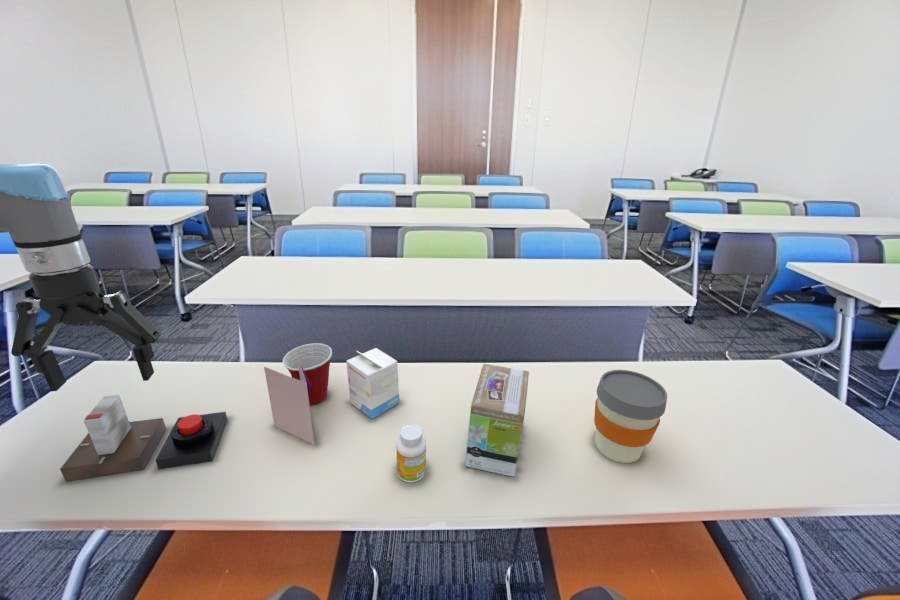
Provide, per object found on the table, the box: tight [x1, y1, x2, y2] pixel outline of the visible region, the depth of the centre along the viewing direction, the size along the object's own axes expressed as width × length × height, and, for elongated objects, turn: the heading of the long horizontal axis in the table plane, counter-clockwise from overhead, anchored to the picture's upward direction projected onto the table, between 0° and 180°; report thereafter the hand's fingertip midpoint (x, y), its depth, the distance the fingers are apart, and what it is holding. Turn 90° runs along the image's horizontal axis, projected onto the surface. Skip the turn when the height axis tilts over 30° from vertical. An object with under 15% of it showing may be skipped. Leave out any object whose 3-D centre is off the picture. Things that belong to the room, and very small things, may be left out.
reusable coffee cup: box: [593, 369, 668, 464], centre depth 80 cm, size 13×13×15 cm
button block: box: [155, 411, 228, 470], centre depth 79 cm, size 9×12×4 cm
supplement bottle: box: [395, 423, 427, 483], centre depth 73 cm, size 5×5×10 cm
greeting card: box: [263, 356, 315, 446], centre depth 81 cm, size 11×7×15 cm, turn 28°
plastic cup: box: [282, 342, 333, 406], centre depth 92 cm, size 11×11×12 cm
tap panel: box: [59, 417, 167, 482], centre depth 76 cm, size 12×11×3 cm
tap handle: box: [83, 394, 131, 455], centre depth 74 cm, size 7×2×8 cm, turn 15°
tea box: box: [464, 363, 530, 478], centre depth 79 cm, size 15×10×15 cm, turn 167°
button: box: [178, 414, 203, 435], centre depth 78 cm, size 4×4×2 cm
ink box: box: [345, 347, 400, 420], centre depth 90 cm, size 9×8×13 cm
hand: (105, 381), depth 71 cm, fingers open, 13 cm apart
